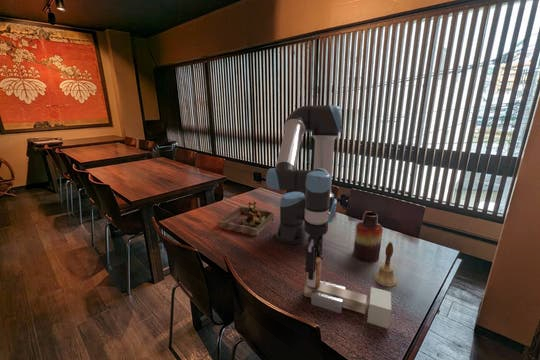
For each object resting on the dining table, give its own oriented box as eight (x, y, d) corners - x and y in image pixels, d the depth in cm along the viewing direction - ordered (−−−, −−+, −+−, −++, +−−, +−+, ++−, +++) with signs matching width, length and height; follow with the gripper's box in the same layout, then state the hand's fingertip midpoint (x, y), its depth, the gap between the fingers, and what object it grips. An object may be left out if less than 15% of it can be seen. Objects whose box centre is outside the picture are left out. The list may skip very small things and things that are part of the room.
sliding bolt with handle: (304, 296, 88) (305, 262, 84) (307, 287, 92) (309, 254, 88) (364, 314, 80) (369, 278, 76) (365, 304, 84) (370, 268, 80)
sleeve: (311, 304, 86) (311, 293, 85) (316, 290, 92) (317, 279, 91) (341, 313, 82) (342, 302, 81) (344, 298, 89) (345, 287, 87)
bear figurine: (238, 228, 138) (237, 208, 135) (247, 217, 152) (246, 198, 148) (263, 231, 135) (262, 210, 132) (269, 219, 149) (269, 200, 146)
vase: (366, 265, 106) (372, 221, 100) (348, 252, 115) (352, 211, 109) (384, 258, 111) (390, 216, 105) (365, 246, 120) (369, 207, 114)
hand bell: (369, 273, 101) (374, 238, 97) (389, 272, 102) (395, 237, 97) (380, 287, 93) (385, 250, 89) (401, 286, 94) (408, 248, 89)
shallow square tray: (219, 228, 139) (219, 221, 137) (240, 211, 159) (240, 206, 157) (256, 236, 130) (256, 229, 128) (274, 218, 150) (274, 212, 148)
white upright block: (367, 322, 79) (369, 303, 77) (368, 304, 86) (371, 286, 84) (388, 329, 76) (391, 310, 74) (388, 310, 83) (390, 292, 81)
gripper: (321, 235, 71) (317, 301, 78) (333, 211, 87) (329, 268, 94) (296, 229, 74) (294, 294, 81) (312, 207, 90) (309, 263, 97)
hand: (313, 280), depth 87 cm, fingers closed on sliding bolt with handle, 5 cm apart
